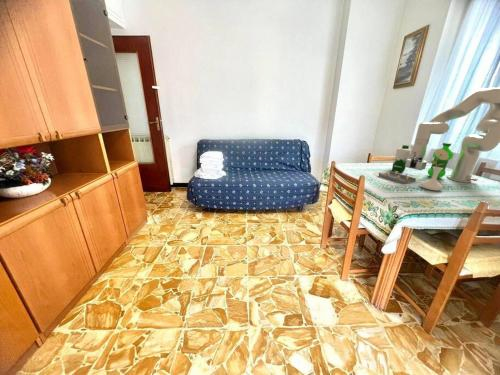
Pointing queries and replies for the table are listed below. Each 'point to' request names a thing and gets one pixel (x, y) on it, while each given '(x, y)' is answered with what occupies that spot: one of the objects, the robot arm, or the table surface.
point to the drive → (419, 164)
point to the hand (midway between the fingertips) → (415, 166)
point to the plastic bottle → (441, 161)
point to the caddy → (397, 177)
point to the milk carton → (401, 158)
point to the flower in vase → (435, 172)
